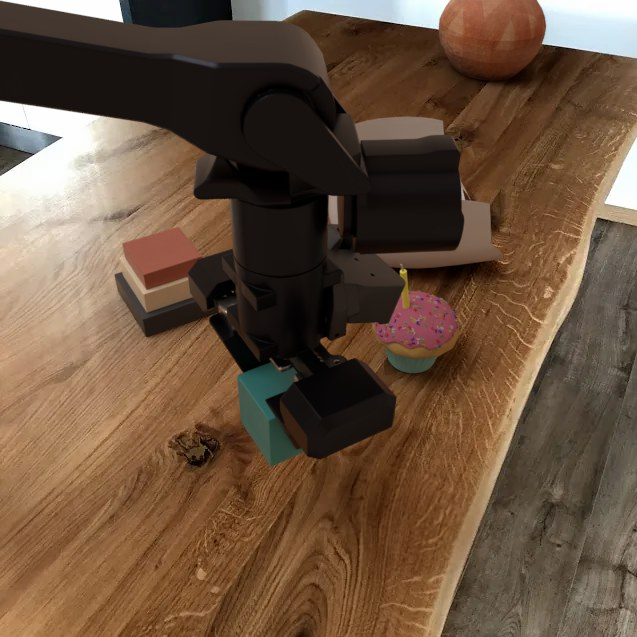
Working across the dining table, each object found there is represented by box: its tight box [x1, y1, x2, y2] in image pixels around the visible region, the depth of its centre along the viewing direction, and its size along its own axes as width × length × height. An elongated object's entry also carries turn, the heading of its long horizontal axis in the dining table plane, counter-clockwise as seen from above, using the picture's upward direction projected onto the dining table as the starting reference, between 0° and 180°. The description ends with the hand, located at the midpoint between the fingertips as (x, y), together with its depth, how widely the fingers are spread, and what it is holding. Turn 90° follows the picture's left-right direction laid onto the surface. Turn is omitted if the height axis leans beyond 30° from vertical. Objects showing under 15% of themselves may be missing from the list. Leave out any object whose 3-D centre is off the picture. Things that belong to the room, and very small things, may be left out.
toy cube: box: [236, 362, 304, 467], centre depth 53 cm, size 5×5×5 cm
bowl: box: [328, 116, 504, 269], centre depth 88 cm, size 20×19×12 cm
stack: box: [114, 226, 219, 338], centre depth 80 cm, size 9×9×7 cm
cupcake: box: [371, 264, 460, 374], centre depth 71 cm, size 9×8×12 cm
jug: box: [438, 0, 547, 82], centre depth 127 cm, size 18×18×20 cm
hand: (284, 421), depth 54 cm, fingers closed on toy cube, 5 cm apart
